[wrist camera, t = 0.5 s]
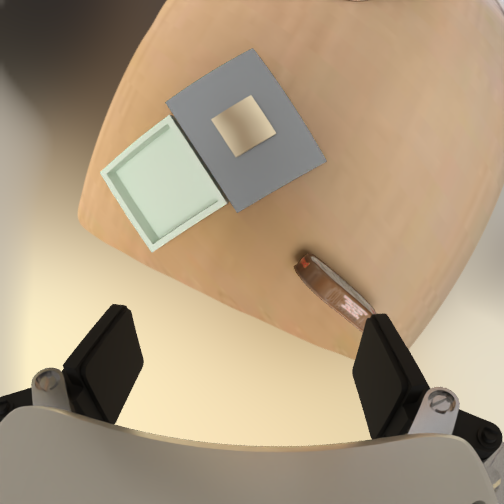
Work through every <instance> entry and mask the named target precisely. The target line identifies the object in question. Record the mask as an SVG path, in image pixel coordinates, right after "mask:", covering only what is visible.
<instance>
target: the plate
mask: <svg viewBox="0 0 504 504" xmlns="http://www.w3.org/2000/svg"><path fill="white" fill-rule="evenodd" d="M250 95H252V97H253V98H254V100H255V101H256V103H257V104H258V106H259V107H260V109H261V110H262V112H263V113H264V115H265V116H266V118H267V119H268V121H269V122H270V124H271V126H272V127H273V129H274V130H275V132H276V135H274V136H272V137H270V138H269V139H267V140H265V141H263V142H262V143H260V144H258V145H257V146H255V147H253V148H252V149H250V150H248V151H247V152H245V153H243V154H242V155H240V156H238V157H235V155H234V154H233V152H232V151H231V149H230V148H229V146H228V145H227V143H226V142H225V140H224V139H223V137H222V135H221V134H220V132H219V131H218V129H217V128H216V126H215V125H214V123H213V122H212V120H211V119H212V118H214V117H215V116H217V115H219V114H220V113H222V112H223V111H225V110H227V109H228V108H230V107H232V106H233V105H235V104H237V103H238V102H240V101H242V100H243V99H245V98H247V97H248V96H250ZM165 103H166V104H167V106H168V107H169V109H170V110H171V112H172V113H173V115H174V116H175V118H176V119H177V121H178V123H179V124H180V126H181V127H182V129H183V130H184V132H185V133H186V135H187V136H188V138H189V139H190V141H191V142H192V144H193V145H194V147H195V149H196V150H197V152H198V153H199V155H200V156H201V158H202V159H203V161H204V162H205V164H206V165H207V167H208V168H209V170H210V172H211V173H212V175H213V176H214V178H215V179H216V181H217V182H218V184H219V185H220V187H221V189H222V190H223V192H224V193H225V195H226V196H227V198H228V199H229V201H230V202H231V204H232V206H233V207H234V209H235V210H236V212H237V213H238V212H240V211H241V210H243V209H245V208H246V207H248V206H250V205H251V204H253V203H255V202H256V201H258V200H260V199H262V198H263V197H265V196H267V195H268V194H270V193H272V192H273V191H275V190H277V189H279V188H280V187H282V186H284V185H286V184H287V183H289V182H291V181H293V180H294V179H296V178H298V177H300V176H301V175H303V174H305V173H307V172H308V171H310V170H312V169H314V168H316V167H317V166H319V165H321V164H323V163H325V162H326V159H325V157H324V155H323V153H322V152H321V150H320V148H319V147H318V145H317V143H316V141H315V140H314V138H313V136H312V135H311V133H310V131H309V130H308V128H307V126H306V125H305V123H304V122H303V120H302V118H301V117H300V115H299V114H298V112H297V110H296V109H295V107H294V106H293V104H292V103H291V101H290V100H289V98H288V97H287V95H286V94H285V92H284V91H283V89H282V88H281V86H280V85H279V83H278V82H277V80H276V79H275V78H274V76H273V75H272V73H271V72H270V71H269V69H268V68H267V66H266V65H265V64H264V62H263V61H262V60H261V58H260V57H259V56H258V54H257V53H256V52H255V50H254V49H253V48H252V49H250V50H248V51H246V52H244V53H243V54H241V55H239V56H237V57H235V58H233V59H232V60H230V61H228V62H226V63H225V64H223V65H221V66H220V67H218V68H216V69H215V70H213V71H211V72H210V73H208V74H206V75H205V76H203V77H202V78H200V79H199V80H197V81H195V82H194V83H192V84H191V85H189V86H188V87H186V88H185V89H183V90H182V91H181V92H179V93H178V94H176V95H175V96H173V97H172V98H171V99H169V100H168V101H167V102H165Z"/></svg>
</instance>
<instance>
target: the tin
mask: <svg viewBox="0 0 504 504" xmlns="http://www.w3.org/2000/svg"><path fill="white" fill-rule="evenodd" d="M294 269H295V271H296V273H297V274H298V276H299V277H300V278H301V280H302V281H303V282H304V283H305V284H306V285H307V286H308V287H309V288H310V289H311V290H312V291H313V292H314V293H315V294H316V295H317V296H318V297H319V298H320V299H321V300H323V301H324V302H325V303H326V304H328V305H329V306H330V307H331V308H333V309H334V310H335V311H336V312H338V313H339V314H340V315H341V316H343V317H344V318H345V319H346V320H348V321H349V322H350V323H351V324H353V325H354V326H355V327H356V328H358V329H359V330H360V331H361V332H363V330H364V327H365V323H366V320H367V318H370V317H371V315H372V314H376V312H375V310H374V309H373V307H372V306H371V305H370V304H369V303H368V302H367V301H366V300H365V299H364V298H363V297H362V296H361V295H360V294H359V293H358V292H357V291H356V290H355V289H353V288H352V287H351V286H350V285H349V284H348V283H347V282H346V281H345V280H344V279H342V278H341V277H340V276H339V275H338V274H337V273H336V272H334V271H333V270H332V269H331V268H330V267H328V266H327V265H326V264H325V263H324V262H322V261H321V260H320V259H318V258H317V257H316V256H314V255H313V254H310V253H308V254H306V255H305V256H304V257H303V258H302V259H301V260H300V261H299V263H298V264H297V265H295V266H294Z"/></svg>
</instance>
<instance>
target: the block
mask: <svg viewBox="0 0 504 504" xmlns="http://www.w3.org/2000/svg"><path fill="white" fill-rule="evenodd" d="M211 120H212V122H213V123H214V125H215V126H216V128H217V129H218V131H219V132H220V134H221V135H222V137H223V139H224V140H225V142H226V143H227V145H228V146H229V148H230V149H231V151H232V152H233V154H234V155H235V157H238V156H240V155H242V154H243V153H245V152H247V151H248V150H250V149H252V148H253V147H255V146H257V145H258V144H260V143H262V142H263V141H265V140H267V139H269V138H270V137H272V136H274V135H276V132H275V130H274V129H273V127H272V126H271V124H270V122H269V121H268V119H267V118H266V116H265V115H264V113H263V112H262V110H261V109H260V107H259V106H258V104H257V103H256V101H255V100H254V98H253V97H252V95H250V96H248V97H247V98H245V99H243V100H242V101H240V102H238V103H237V104H235V105H233V106H232V107H230V108H228V109H227V110H225V111H223V112H222V113H220V114H219V115H217V116H215V117H214V118H212V119H211Z"/></svg>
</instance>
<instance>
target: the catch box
mask: <svg viewBox="0 0 504 504" xmlns="http://www.w3.org/2000/svg"><path fill="white" fill-rule="evenodd" d="M100 174H101V175H102V177H103V179H104V180H105V182H106V184H107V185H108V187H109V188H110V190H111V192H112V193H113V195H114V196H115V198H116V200H117V201H118V203H119V204H120V206H121V207H122V209H123V211H124V212H125V214H126V215H127V217H128V218H129V220H130V221H131V223H132V224H133V226H134V227H135V229H136V230H137V232H138V233H139V235H140V236H141V237H142V239H143V240H144V242H145V243H146V245H147V246H148V248H149V249H150V250H151V252H154V251H155V250H157V249H158V248H160V247H161V246H162V245H164V244H165V243H167V242H168V241H170V240H171V239H173V238H174V237H176V236H177V235H179V234H181V233H182V232H184V231H185V230H187V229H188V228H190V227H191V226H193V225H194V224H196V223H197V222H199V221H201V220H202V219H204V218H205V217H207V216H208V215H210V214H212V213H213V212H215V211H216V210H218V209H219V208H221V207H223V206H224V205H226V204H227V203H228V202H229V199H228V198H227V196H226V195H225V193H224V192H223V190H222V189H221V187H220V185H219V184H218V182H217V181H216V179H215V178H214V176H213V175H212V173H211V172H210V170H209V168H208V167H207V165H206V164H205V162H204V161H203V159H202V158H201V156H200V155H199V153H198V152H197V150H196V149H195V147H194V145H193V144H192V142H191V141H190V139H189V138H188V136H187V135H186V133H185V132H184V130H183V129H182V127H181V126H180V124H179V123H178V121H177V119H176V118H175V116H172V115H168V116H167V117H166V118H164V119H163V120H162V121H160V122H159V123H158V124H156V125H155V126H154V127H152V128H151V129H150V130H149V131H147V132H146V133H145V134H144V135H142V136H141V137H140V138H139V139H137V140H136V141H135V142H134V143H133V144H131V145H130V146H129V147H128V148H127V149H125V150H124V151H123V152H122V153H121V154H120V155H119V156H117V157H116V158H115V159H114V160H113V161H112V162H111V163H110V164H109V165H107V166H106V167H105V168H104V169H103V170H102V171H101V172H100Z"/></svg>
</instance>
